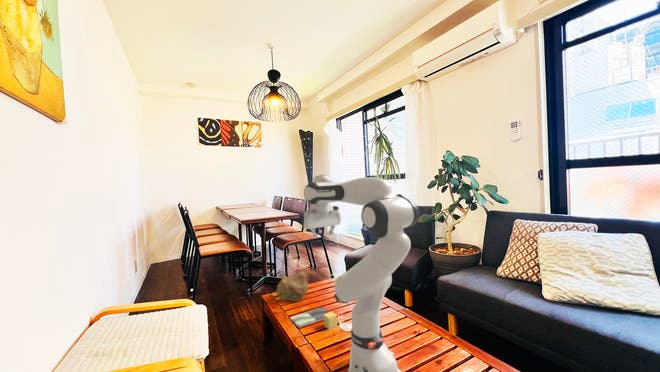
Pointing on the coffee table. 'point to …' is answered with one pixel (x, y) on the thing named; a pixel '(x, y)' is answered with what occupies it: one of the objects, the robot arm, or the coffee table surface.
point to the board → (309, 317)
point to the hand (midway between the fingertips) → (323, 235)
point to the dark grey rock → (339, 299)
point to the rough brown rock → (293, 287)
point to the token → (330, 320)
